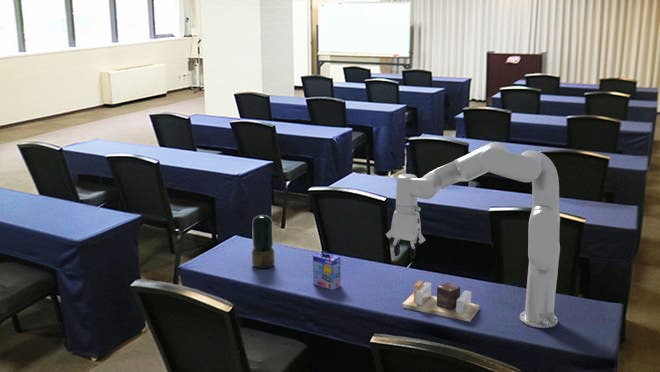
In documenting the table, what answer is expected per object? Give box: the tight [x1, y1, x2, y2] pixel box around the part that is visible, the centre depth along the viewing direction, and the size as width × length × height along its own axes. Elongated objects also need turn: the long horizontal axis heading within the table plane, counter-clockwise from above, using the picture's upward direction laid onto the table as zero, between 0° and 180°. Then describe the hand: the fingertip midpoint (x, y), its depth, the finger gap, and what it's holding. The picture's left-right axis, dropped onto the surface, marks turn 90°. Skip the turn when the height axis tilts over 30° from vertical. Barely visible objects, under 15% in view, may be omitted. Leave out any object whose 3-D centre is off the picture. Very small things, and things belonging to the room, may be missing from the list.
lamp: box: [251, 214, 276, 269], centre depth 281 cm, size 10×10×22 cm
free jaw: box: [413, 280, 432, 306], centre depth 246 cm, size 4×10×6 cm, turn 153°
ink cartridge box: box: [312, 250, 342, 291], centre depth 262 cm, size 10×6×14 cm, turn 56°
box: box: [436, 282, 461, 310], centre depth 241 cm, size 6×6×7 cm
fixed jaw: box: [456, 290, 472, 315], centre depth 239 cm, size 2×10×5 cm, turn 153°
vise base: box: [401, 292, 480, 322], centre depth 243 cm, size 25×12×2 cm, turn 63°
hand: (404, 256), depth 246 cm, fingers open, 5 cm apart
